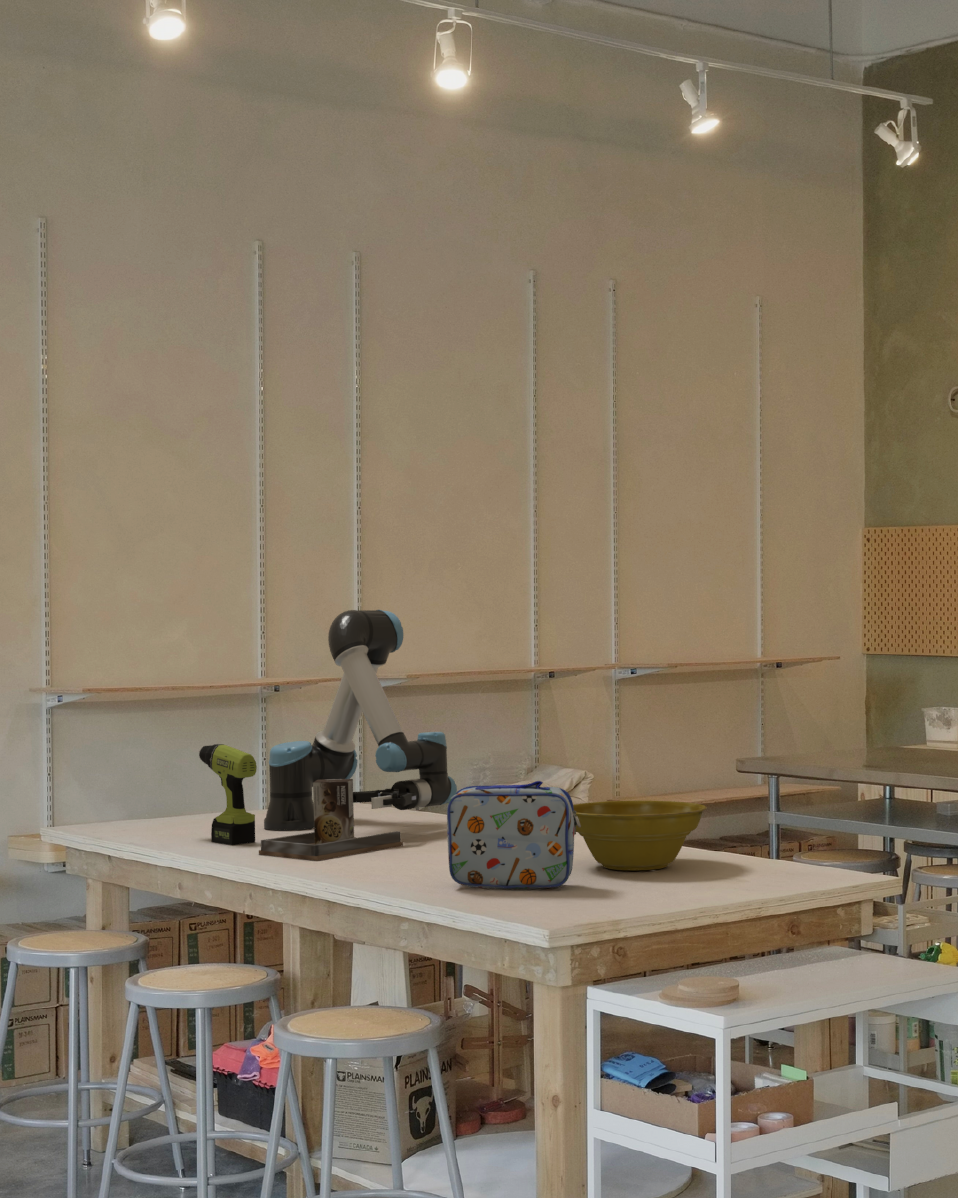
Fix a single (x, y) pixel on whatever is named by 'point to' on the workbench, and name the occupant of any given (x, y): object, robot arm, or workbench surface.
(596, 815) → the planter bowl
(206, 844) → the workbench surface
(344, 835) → the coffee box
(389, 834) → the brown tray
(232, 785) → the cordless drill
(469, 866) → the lunch box
